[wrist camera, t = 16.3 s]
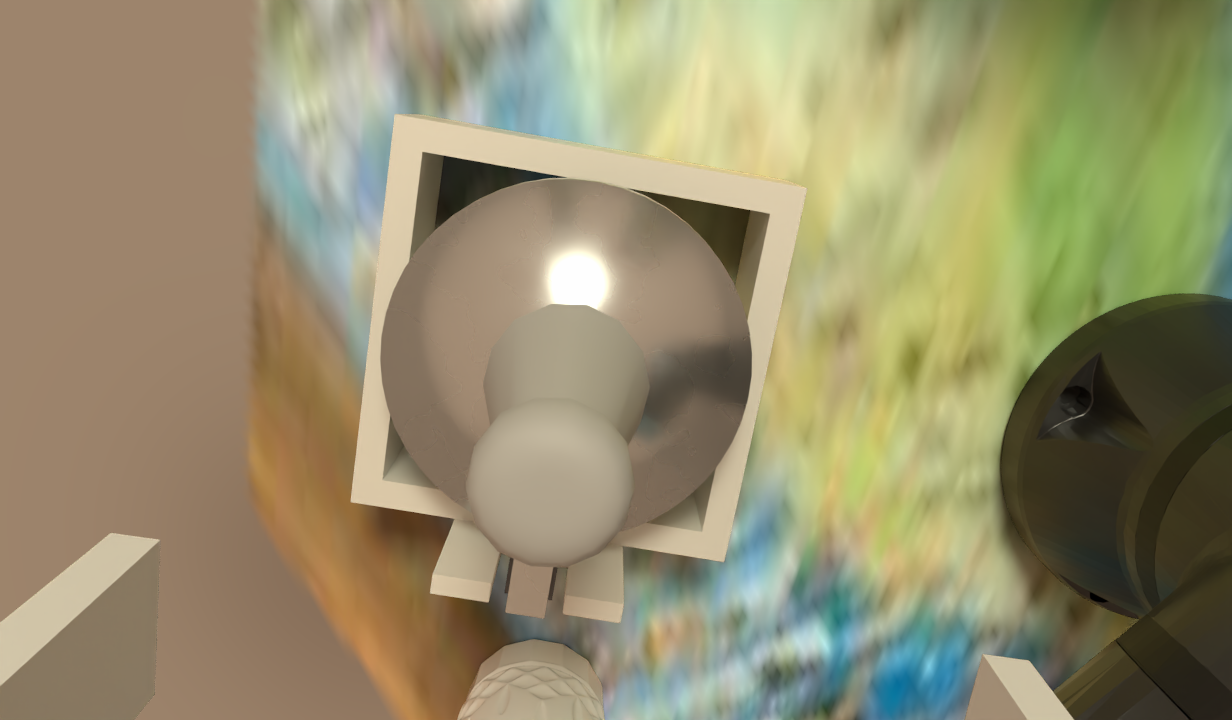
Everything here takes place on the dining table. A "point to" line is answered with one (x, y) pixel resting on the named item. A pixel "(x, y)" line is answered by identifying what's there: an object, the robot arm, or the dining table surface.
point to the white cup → (534, 685)
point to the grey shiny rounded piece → (568, 274)
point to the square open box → (426, 140)
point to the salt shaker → (558, 436)
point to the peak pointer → (550, 583)
